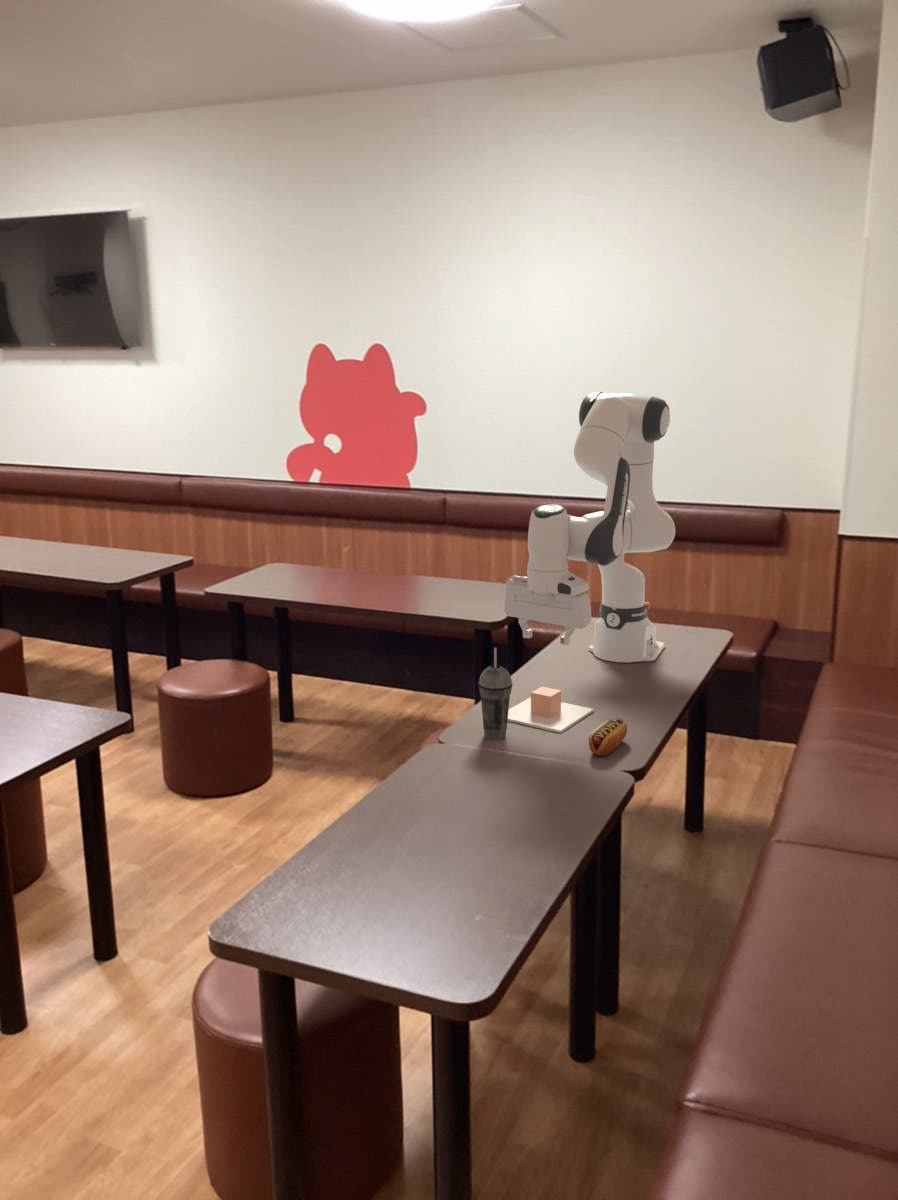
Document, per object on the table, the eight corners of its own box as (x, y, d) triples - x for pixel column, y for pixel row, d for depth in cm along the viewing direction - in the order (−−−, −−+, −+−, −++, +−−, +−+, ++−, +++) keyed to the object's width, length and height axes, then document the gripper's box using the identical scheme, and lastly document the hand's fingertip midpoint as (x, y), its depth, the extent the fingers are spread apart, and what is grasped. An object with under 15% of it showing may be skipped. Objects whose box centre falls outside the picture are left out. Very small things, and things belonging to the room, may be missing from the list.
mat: (532, 698, 246) (532, 696, 246) (593, 711, 237) (593, 708, 237) (496, 718, 233) (496, 716, 233) (560, 733, 224) (560, 730, 224)
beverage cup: (512, 730, 226) (513, 641, 221) (511, 742, 219) (512, 651, 214) (479, 729, 227) (479, 640, 222) (476, 741, 220) (477, 650, 215)
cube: (541, 707, 238) (541, 686, 237) (560, 711, 236) (561, 690, 235) (530, 713, 234) (530, 692, 233) (550, 717, 232) (550, 696, 231)
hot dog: (582, 757, 212) (583, 733, 211) (607, 736, 223) (608, 714, 222) (605, 761, 210) (606, 738, 208) (630, 740, 221) (630, 718, 219)
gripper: (499, 576, 231) (498, 636, 235) (582, 589, 220) (580, 652, 223) (513, 571, 236) (512, 630, 240) (595, 583, 225) (593, 644, 228)
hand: (546, 640), depth 231 cm, fingers open, 8 cm apart
